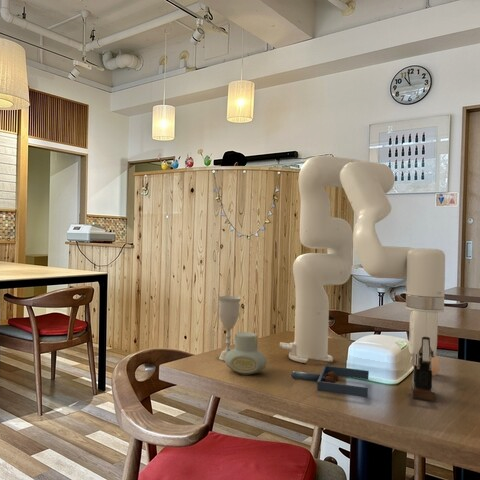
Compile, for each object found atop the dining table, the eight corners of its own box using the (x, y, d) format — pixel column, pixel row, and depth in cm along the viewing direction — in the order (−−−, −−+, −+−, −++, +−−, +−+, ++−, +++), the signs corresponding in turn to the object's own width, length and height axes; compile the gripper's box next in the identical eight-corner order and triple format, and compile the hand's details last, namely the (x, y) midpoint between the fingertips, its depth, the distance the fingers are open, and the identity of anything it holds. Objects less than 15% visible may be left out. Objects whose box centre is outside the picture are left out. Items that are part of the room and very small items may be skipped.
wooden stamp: (412, 405, 105) (413, 366, 105) (411, 395, 112) (412, 358, 112) (433, 408, 104) (434, 369, 103) (430, 397, 111) (432, 360, 111)
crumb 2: (339, 378, 117) (331, 386, 117) (341, 377, 119) (333, 385, 120) (330, 369, 118) (322, 377, 119) (333, 368, 120) (325, 376, 121)
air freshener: (267, 369, 131) (268, 332, 131) (265, 378, 123) (266, 338, 123) (226, 365, 134) (227, 329, 134) (222, 373, 126) (223, 335, 126)
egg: (433, 382, 123) (434, 353, 123) (410, 377, 128) (411, 348, 128) (443, 379, 126) (444, 350, 126) (420, 374, 131) (421, 346, 131)
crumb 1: (324, 377, 113) (336, 382, 112) (325, 372, 116) (337, 377, 115) (320, 387, 114) (332, 392, 113) (322, 382, 117) (333, 387, 116)
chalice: (234, 363, 137) (235, 299, 137) (211, 359, 140) (213, 297, 140) (242, 358, 143) (244, 297, 143) (221, 354, 147) (223, 295, 147)
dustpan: (368, 384, 120) (368, 370, 120) (367, 403, 105) (367, 388, 105) (295, 374, 127) (296, 361, 127) (285, 391, 112) (286, 376, 112)
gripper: (403, 298, 117) (401, 374, 117) (408, 306, 102) (405, 393, 102) (439, 301, 114) (437, 379, 114) (449, 309, 99) (446, 399, 99)
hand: (422, 385), depth 108 cm, fingers closed on wooden stamp, 2 cm apart
